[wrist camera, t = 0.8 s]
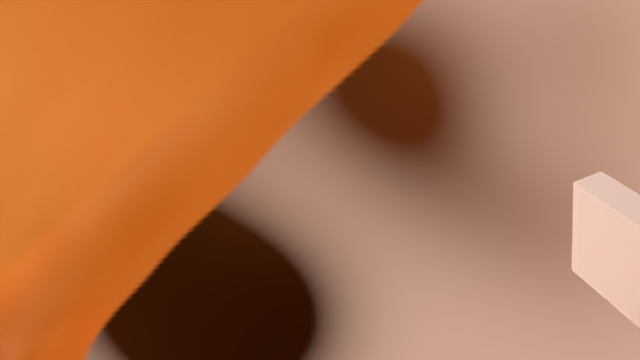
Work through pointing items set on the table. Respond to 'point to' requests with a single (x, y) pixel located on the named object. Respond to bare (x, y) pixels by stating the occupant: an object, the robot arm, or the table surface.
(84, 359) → the table surface
